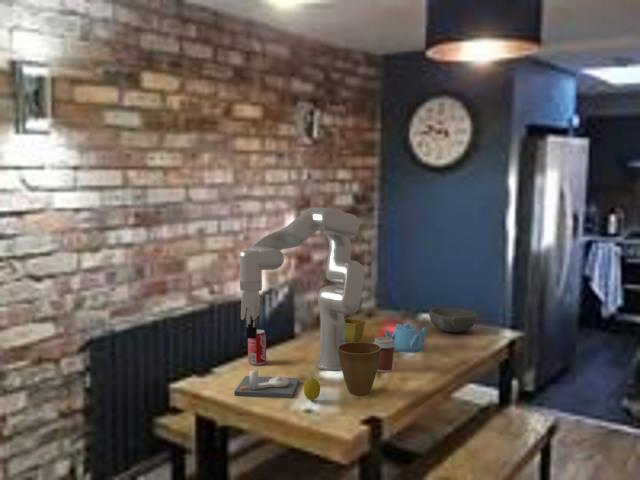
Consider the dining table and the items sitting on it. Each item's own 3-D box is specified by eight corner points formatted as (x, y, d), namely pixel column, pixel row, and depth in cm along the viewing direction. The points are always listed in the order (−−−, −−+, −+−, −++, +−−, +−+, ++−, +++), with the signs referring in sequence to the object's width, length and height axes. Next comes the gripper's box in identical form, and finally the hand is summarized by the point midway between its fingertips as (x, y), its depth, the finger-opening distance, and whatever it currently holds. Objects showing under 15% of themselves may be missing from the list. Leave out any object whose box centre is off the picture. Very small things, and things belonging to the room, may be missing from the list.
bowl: (481, 337, 313) (482, 316, 312) (432, 337, 313) (432, 316, 312) (471, 325, 336) (472, 305, 334) (425, 325, 336) (425, 305, 335)
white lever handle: (283, 379, 246) (283, 363, 245) (292, 385, 240) (292, 368, 239) (246, 386, 239) (246, 369, 239) (254, 391, 233) (253, 374, 233)
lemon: (303, 398, 232) (303, 375, 231) (319, 397, 233) (319, 375, 232) (304, 404, 227) (304, 380, 226) (320, 403, 227) (321, 380, 226)
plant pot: (356, 382, 249) (356, 339, 248) (388, 391, 239) (389, 347, 237) (328, 392, 239) (328, 347, 237) (361, 402, 228) (361, 355, 227)
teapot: (429, 346, 298) (429, 322, 297) (418, 355, 284) (418, 329, 283) (395, 342, 305) (396, 318, 303) (383, 350, 291) (384, 325, 290)
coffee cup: (400, 369, 265) (400, 339, 263) (385, 374, 258) (385, 343, 257) (382, 364, 271) (382, 334, 270) (366, 369, 265) (367, 339, 263)
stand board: (299, 382, 249) (299, 375, 249) (292, 398, 233) (292, 391, 232) (245, 379, 252) (245, 373, 251) (234, 395, 235) (234, 388, 235)
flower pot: (365, 340, 308) (365, 320, 307) (355, 344, 301) (356, 324, 300) (348, 337, 313) (348, 318, 312) (338, 341, 306) (338, 321, 304)
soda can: (263, 366, 268) (263, 334, 267) (245, 365, 270) (245, 333, 268) (268, 361, 275) (268, 329, 274) (251, 360, 276) (250, 328, 275)
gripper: (245, 281, 244) (245, 332, 246) (235, 289, 229) (236, 343, 232) (265, 282, 243) (266, 332, 246) (257, 290, 229) (258, 344, 231)
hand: (251, 337), depth 239 cm, fingers closed
